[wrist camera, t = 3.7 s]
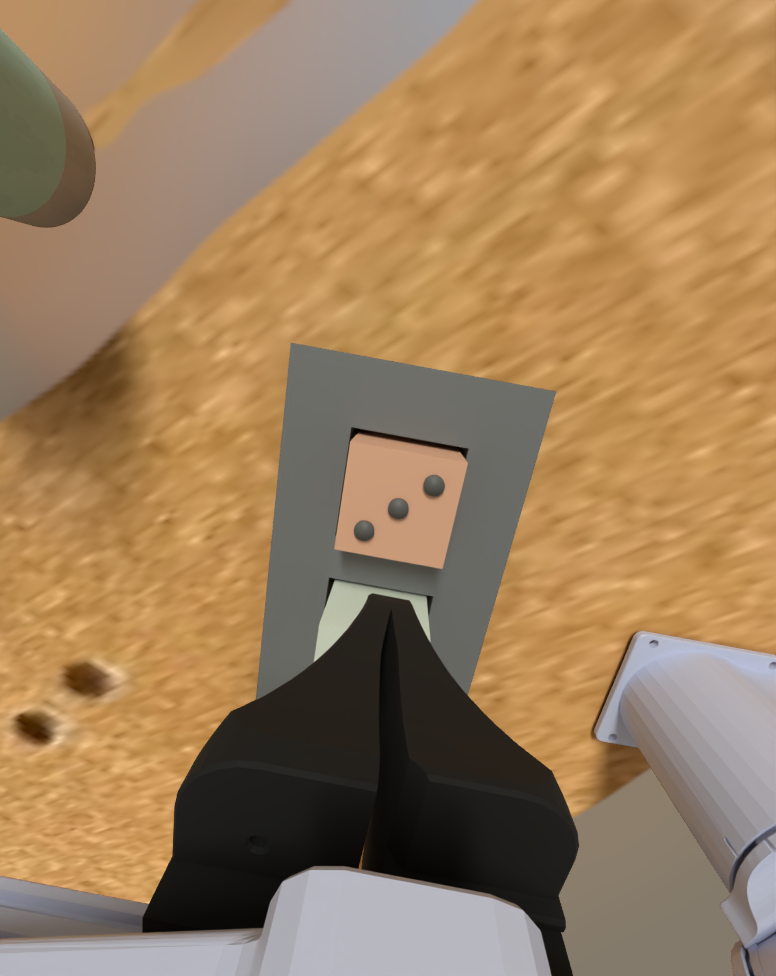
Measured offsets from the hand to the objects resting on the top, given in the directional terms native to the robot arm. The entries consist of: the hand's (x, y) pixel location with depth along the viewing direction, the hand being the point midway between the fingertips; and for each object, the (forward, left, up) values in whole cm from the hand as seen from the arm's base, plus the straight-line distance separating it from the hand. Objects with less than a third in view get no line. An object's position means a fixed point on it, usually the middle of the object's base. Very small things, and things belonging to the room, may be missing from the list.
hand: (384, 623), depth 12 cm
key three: (0, -2, -9) cm, 9 cm away
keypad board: (0, +6, -9) cm, 11 cm away
